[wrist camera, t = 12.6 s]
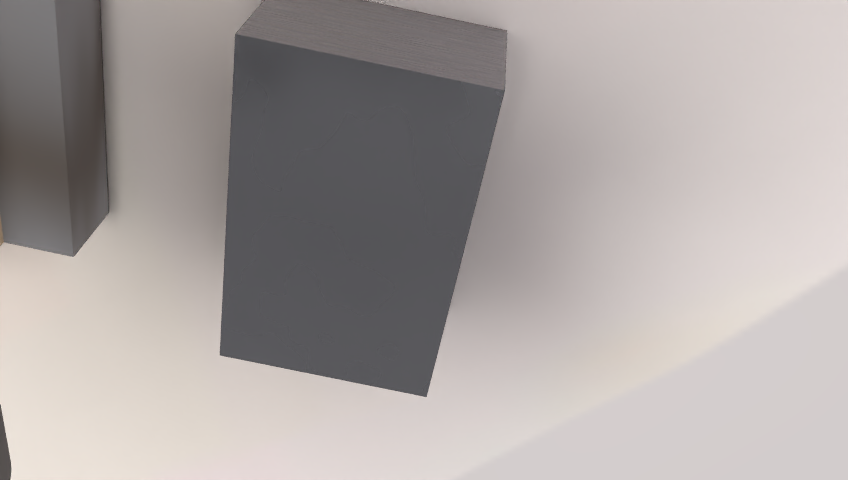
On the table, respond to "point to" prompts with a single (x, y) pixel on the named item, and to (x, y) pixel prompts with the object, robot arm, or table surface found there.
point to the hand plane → (51, 124)
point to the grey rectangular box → (353, 185)
